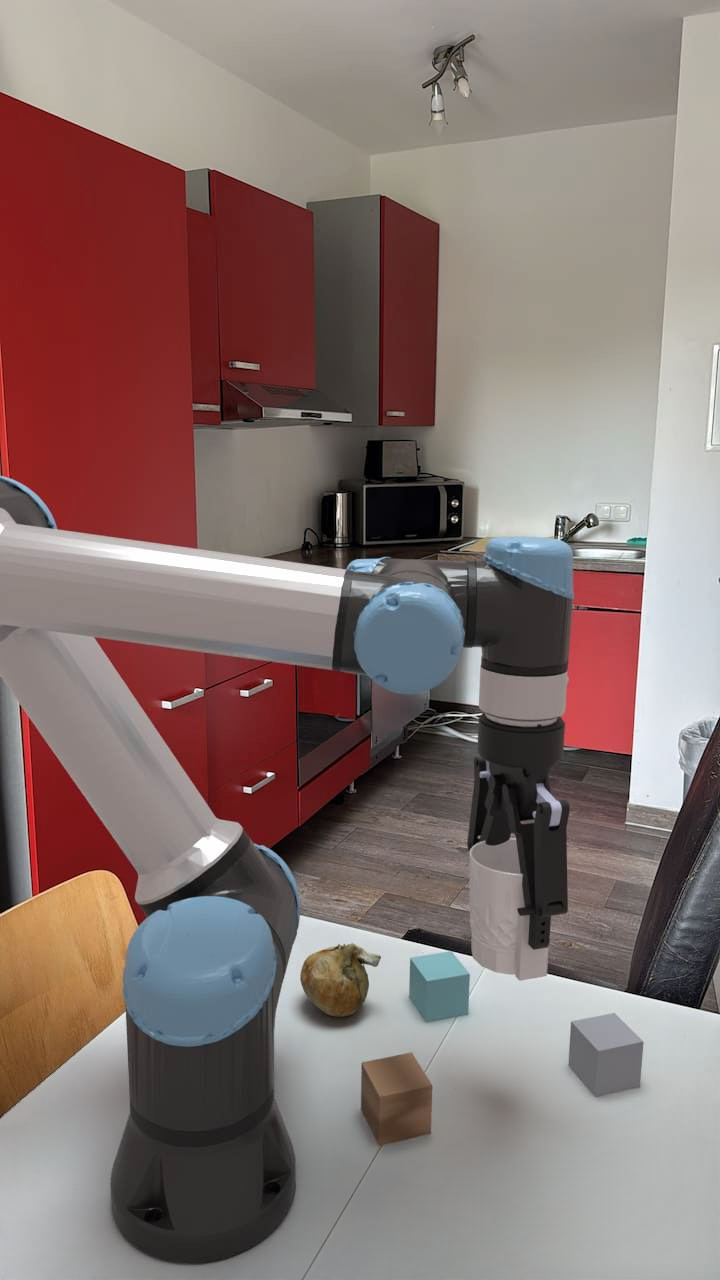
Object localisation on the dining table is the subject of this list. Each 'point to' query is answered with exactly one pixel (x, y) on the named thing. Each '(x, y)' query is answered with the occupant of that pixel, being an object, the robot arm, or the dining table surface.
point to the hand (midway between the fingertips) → (509, 952)
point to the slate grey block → (605, 1054)
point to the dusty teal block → (439, 986)
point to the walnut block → (396, 1098)
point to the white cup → (495, 905)
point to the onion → (338, 978)
